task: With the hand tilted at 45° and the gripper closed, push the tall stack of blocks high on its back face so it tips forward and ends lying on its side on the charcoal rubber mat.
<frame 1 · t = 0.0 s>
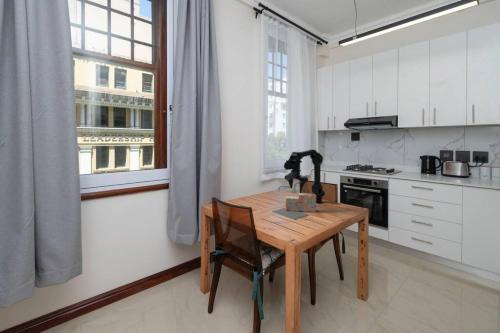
hand: (295, 189, 182), 15 cm above the table, tool pointing down, fingers open, 9 cm apart
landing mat: (289, 213, 171), on the table
stack of blocks: (300, 210, 178), on the table, touching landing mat
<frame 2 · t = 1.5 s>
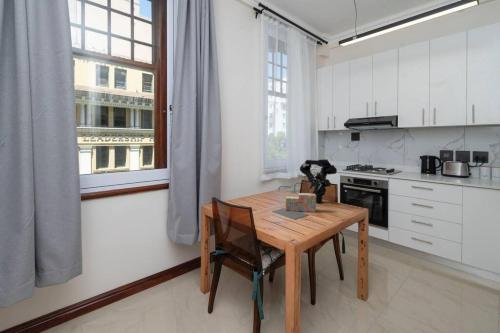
hand: (313, 189, 186), 14 cm above the table, tool tilted 45°, fingers open, 7 cm apart
nothing on the table moved.
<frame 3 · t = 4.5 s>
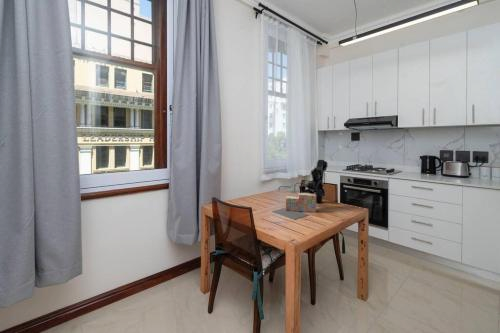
hand: (305, 199, 180), 8 cm above the table, tool tilted 45°, fingers closed
stack of blocks: (300, 210, 178), on the table, touching gripper, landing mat
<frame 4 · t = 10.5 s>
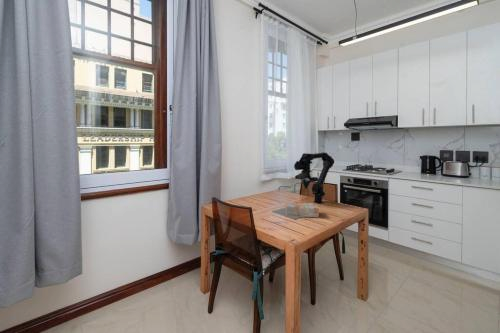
hand: (305, 188, 193), 13 cm above the table, tool pointing down, fingers closed
stack of blocks: (300, 207, 175), point 3 cm above the table, touching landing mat
at the end: stack of blocks tilted 90°; stack of blocks inside the target area (3.5 cm from its centre), point 3.5 cm above the table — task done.
